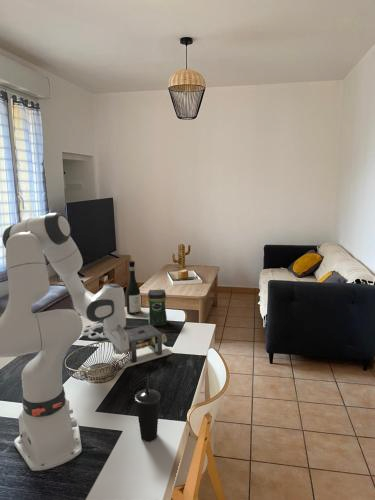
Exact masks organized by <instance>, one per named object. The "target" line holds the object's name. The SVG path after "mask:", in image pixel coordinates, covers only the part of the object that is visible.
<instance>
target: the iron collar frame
mask: <svg viewBox="0 0 375 500" xmlns="http://www.w3.org/2000/svg"><path fill="white" fill-rule="evenodd" d="M124 330H125V329H124ZM125 331H126V332H127V334H128V340H129V354H130V361H131V362H132V363H135V362H137V354H136V342H138V341H142V340H145V339H149V338H153V337H155V345H153V346H149V348H150V349H151V350H152V351H153V352H154V353H156V354H157V355H158V356H159V355H162V344H163V343H162V334H163V333H162V332H161V331H160V330H159V329H157V328H156V327H155V326H152V325H150V324H146V325H143V326H142V325H141V326H138V327H134V328H131V329H127V330H125ZM124 354H125V355H127V354H128V352H127V353H124Z"/></svg>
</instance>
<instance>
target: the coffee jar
mask: <svg viewBox="0 0 375 500" xmlns="http://www.w3.org/2000/svg"><path fill="white" fill-rule="evenodd" d="M166 300H167V293H166V291H165V289H149V290H148V293H147V302H148V305H149V306H148V307H149V308H148V309H149V310H148V311H149V312H148V325H152V326H153V327H161V326H165V325H167V323H168V317H167V310H166Z"/></svg>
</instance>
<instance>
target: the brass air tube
mask: <svg viewBox="0 0 375 500" xmlns="http://www.w3.org/2000/svg"><path fill="white" fill-rule="evenodd" d="M167 341H168V338H167V335H166V334H165V333H162V344H164V343H166V342H167ZM153 345H155V337H153V338H149V339H145V340H142V341H138V342H136V350H138V349H143V348H145V347H149V346H153ZM127 352H129V349H128V350H127V351H123V352H120V353H119V355H120V354H123V353H127Z"/></svg>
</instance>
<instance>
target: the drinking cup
mask: <svg viewBox="0 0 375 500" xmlns="http://www.w3.org/2000/svg"><path fill="white" fill-rule="evenodd" d="M160 399H161V393H160V391H158V390H156V389H152V388H149V376H148V375H146V376H145V389H141V390H138V391H137V392H136V393H135V394H134V401H135V404H136V411H137V417H138V418H137V419H138V425H139V433H140V438H141V440H142V441H144V442H149V443H150V442H153V441H154V440H155V441H156V439H157V437H158V425H159V409H160Z"/></svg>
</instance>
